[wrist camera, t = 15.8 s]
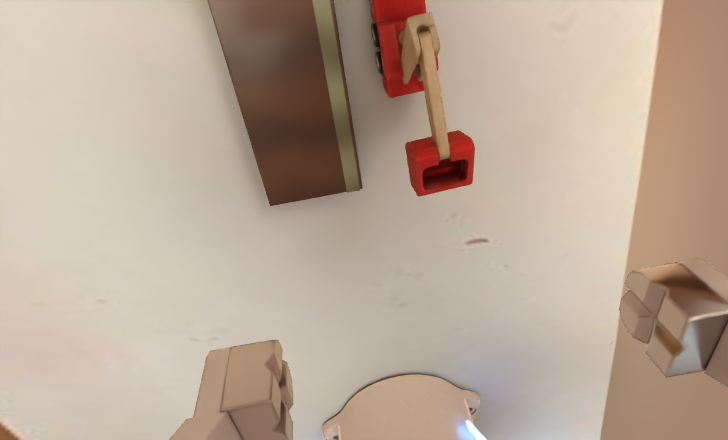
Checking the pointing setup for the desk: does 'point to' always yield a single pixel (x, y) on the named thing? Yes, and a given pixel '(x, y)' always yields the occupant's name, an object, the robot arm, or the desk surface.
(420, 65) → the toy fire truck
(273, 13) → the board
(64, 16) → the desk surface
